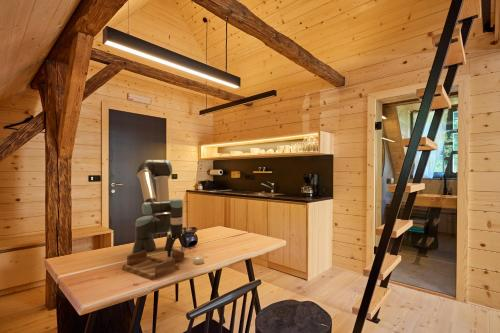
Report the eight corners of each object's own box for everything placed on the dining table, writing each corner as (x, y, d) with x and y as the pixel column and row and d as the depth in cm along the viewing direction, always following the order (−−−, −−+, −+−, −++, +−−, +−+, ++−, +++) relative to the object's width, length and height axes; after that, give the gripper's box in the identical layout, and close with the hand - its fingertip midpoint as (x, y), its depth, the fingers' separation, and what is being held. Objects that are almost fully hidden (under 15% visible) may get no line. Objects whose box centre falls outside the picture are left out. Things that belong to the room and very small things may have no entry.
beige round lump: (190, 263, 162) (190, 258, 162) (198, 260, 168) (198, 255, 168) (198, 265, 159) (198, 260, 159) (205, 262, 164) (205, 257, 164)
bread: (175, 263, 161) (173, 254, 160) (167, 255, 177) (165, 247, 176) (185, 258, 164) (183, 250, 164) (176, 251, 180) (174, 243, 180)
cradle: (122, 269, 152) (122, 257, 152) (149, 260, 167) (149, 248, 167) (152, 280, 137) (152, 267, 137) (179, 269, 153) (179, 257, 152)
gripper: (166, 227, 157) (166, 266, 157) (193, 221, 175) (193, 255, 175) (158, 226, 161) (158, 263, 161) (185, 220, 179) (185, 253, 179)
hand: (176, 259), depth 168 cm, fingers open, 9 cm apart
